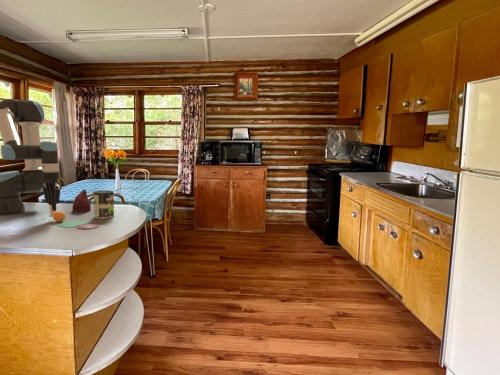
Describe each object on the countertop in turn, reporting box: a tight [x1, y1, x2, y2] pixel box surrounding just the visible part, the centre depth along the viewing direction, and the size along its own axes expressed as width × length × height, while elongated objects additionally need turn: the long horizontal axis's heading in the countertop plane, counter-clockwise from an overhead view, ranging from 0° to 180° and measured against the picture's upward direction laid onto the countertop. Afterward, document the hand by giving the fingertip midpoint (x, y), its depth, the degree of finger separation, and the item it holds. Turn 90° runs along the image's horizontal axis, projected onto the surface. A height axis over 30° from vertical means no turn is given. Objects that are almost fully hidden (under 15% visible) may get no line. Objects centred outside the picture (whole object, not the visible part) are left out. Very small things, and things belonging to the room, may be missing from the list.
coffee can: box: [92, 190, 115, 220], centre depth 186 cm, size 10×10×14 cm
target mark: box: [52, 219, 90, 229], centre depth 169 cm, size 12×12×1 cm
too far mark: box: [76, 223, 100, 231], centre depth 164 cm, size 10×10×1 cm
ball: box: [52, 210, 66, 223], centre depth 173 cm, size 6×6×6 cm
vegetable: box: [71, 188, 92, 213], centre depth 200 cm, size 10×10×15 cm
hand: (53, 216), depth 175 cm, fingers closed
